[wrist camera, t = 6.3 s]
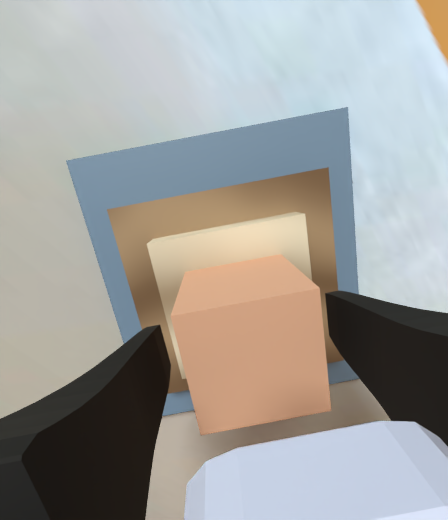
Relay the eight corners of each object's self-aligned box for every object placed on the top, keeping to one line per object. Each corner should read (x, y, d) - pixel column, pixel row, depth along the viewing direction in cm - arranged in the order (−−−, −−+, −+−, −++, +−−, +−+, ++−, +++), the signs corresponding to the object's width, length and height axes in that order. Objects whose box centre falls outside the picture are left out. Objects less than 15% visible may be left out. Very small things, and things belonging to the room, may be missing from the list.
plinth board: (356, 369, 20) (390, 410, 16) (150, 408, 20) (136, 459, 16) (339, 112, 16) (381, 86, 12) (74, 162, 16) (30, 152, 12)
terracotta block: (291, 339, 15) (331, 410, 10) (204, 355, 15) (200, 435, 10) (280, 253, 14) (319, 287, 9) (184, 271, 14) (170, 316, 9)
